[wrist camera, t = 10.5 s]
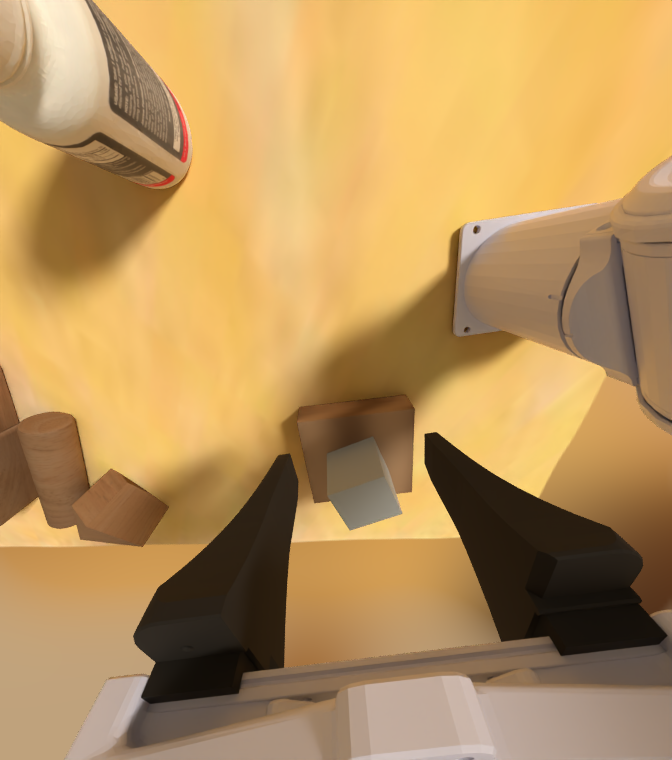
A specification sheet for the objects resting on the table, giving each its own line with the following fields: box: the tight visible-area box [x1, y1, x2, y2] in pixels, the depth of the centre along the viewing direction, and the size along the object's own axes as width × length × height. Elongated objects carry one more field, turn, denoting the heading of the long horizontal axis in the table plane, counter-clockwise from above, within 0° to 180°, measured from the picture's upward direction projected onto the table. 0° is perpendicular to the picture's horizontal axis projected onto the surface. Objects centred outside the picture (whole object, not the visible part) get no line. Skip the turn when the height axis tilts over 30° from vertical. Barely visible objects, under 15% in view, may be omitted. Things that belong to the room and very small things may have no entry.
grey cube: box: [327, 437, 402, 530], centre depth 21 cm, size 4×4×4 cm
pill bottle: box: [0, 0, 192, 189], centre depth 10 cm, size 5×5×10 cm
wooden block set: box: [0, 366, 169, 547], centre depth 21 cm, size 17×6×18 cm
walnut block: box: [297, 395, 415, 503], centre depth 24 cm, size 10×10×3 cm
